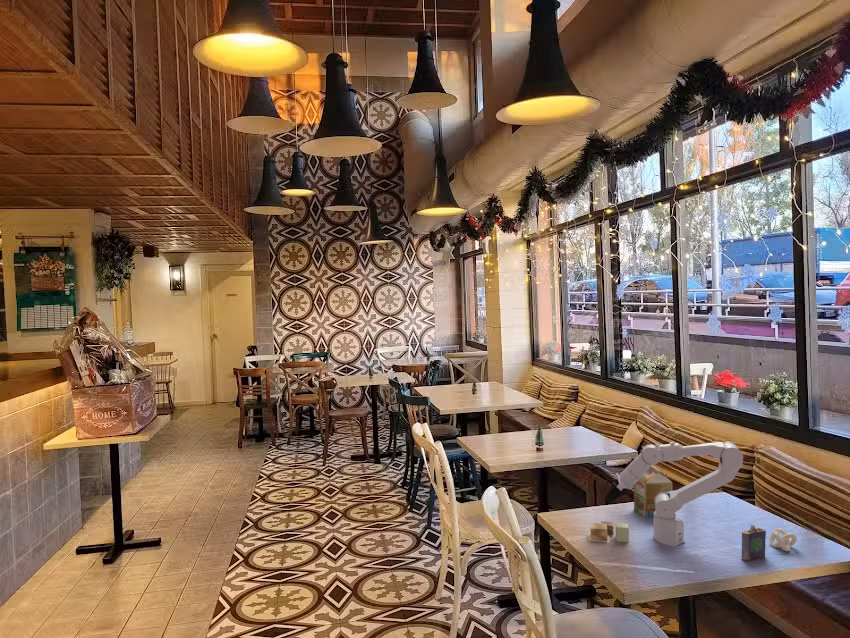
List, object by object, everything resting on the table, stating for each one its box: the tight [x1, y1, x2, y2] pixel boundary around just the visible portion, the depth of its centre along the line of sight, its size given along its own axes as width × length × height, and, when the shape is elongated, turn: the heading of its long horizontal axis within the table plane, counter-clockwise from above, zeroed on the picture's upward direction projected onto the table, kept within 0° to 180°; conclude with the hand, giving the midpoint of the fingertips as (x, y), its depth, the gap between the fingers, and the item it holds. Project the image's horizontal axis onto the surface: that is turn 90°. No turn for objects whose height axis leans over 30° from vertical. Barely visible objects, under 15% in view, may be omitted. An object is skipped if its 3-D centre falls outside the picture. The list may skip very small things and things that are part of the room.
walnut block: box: [600, 520, 614, 535], centre depth 214 cm, size 4×4×3 cm
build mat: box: [587, 532, 610, 543], centre depth 209 cm, size 14×14×1 cm
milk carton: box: [633, 465, 673, 519], centre depth 234 cm, size 11×11×19 cm
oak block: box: [589, 522, 607, 542], centre depth 209 cm, size 6×6×4 cm
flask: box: [741, 524, 767, 562], centre depth 193 cm, size 9×3×11 cm, turn 109°
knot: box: [768, 527, 798, 552], centre depth 201 cm, size 8×8×6 cm
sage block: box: [615, 522, 630, 543], centre depth 207 cm, size 4×4×5 cm
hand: (608, 499), depth 213 cm, fingers open, 7 cm apart
